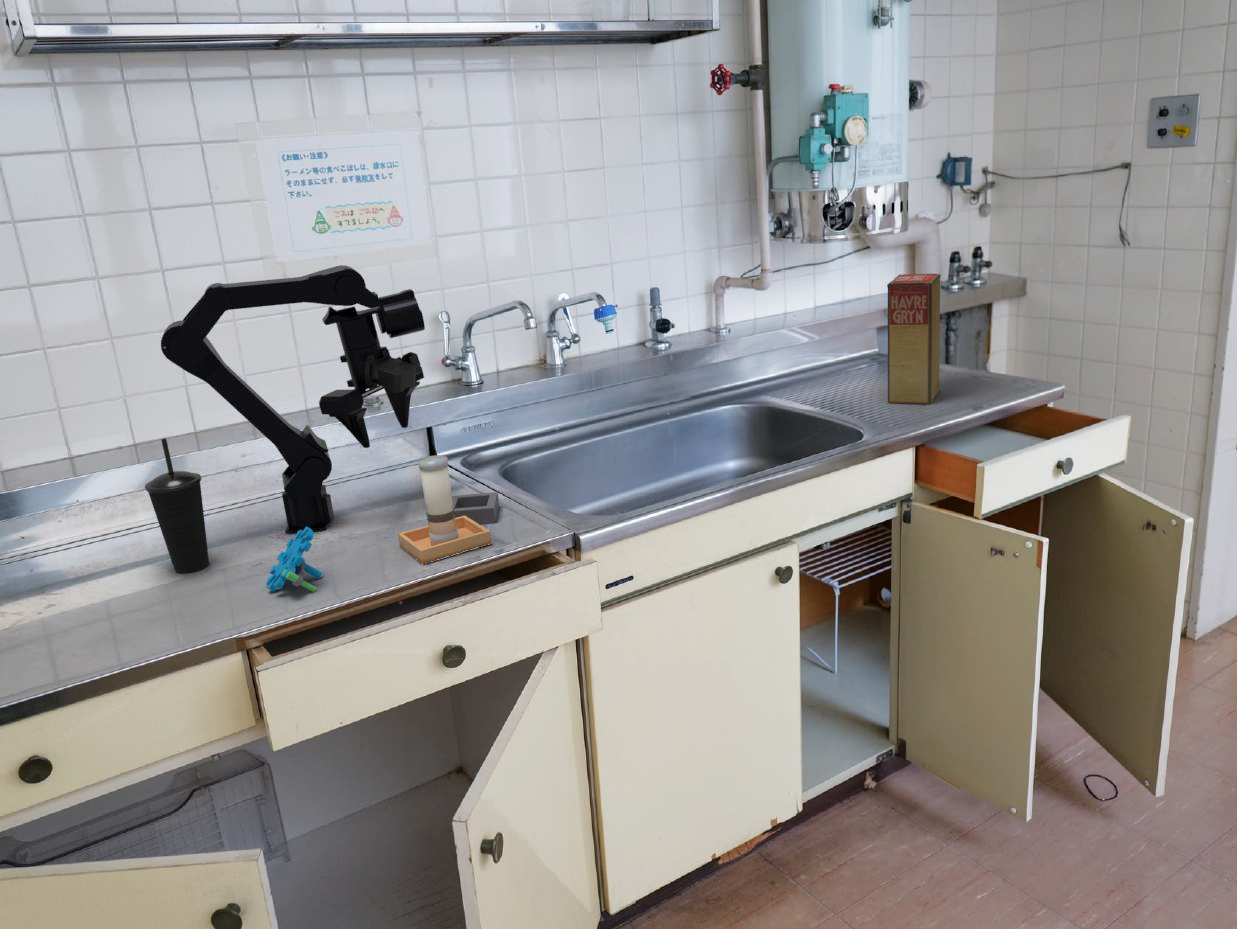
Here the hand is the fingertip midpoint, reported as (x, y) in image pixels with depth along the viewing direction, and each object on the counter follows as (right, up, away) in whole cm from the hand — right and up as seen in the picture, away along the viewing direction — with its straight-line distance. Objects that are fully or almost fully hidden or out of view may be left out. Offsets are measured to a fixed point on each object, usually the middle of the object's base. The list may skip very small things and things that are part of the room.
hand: (386, 437), depth 163 cm
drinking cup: (-26, -20, -14) cm, 36 cm away
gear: (-7, -22, -23) cm, 33 cm away
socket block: (+15, -13, -2) cm, 20 cm away
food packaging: (+101, +10, +48) cm, 112 cm away
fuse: (+12, -16, -14) cm, 24 cm away
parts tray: (+12, -17, -14) cm, 25 cm away
